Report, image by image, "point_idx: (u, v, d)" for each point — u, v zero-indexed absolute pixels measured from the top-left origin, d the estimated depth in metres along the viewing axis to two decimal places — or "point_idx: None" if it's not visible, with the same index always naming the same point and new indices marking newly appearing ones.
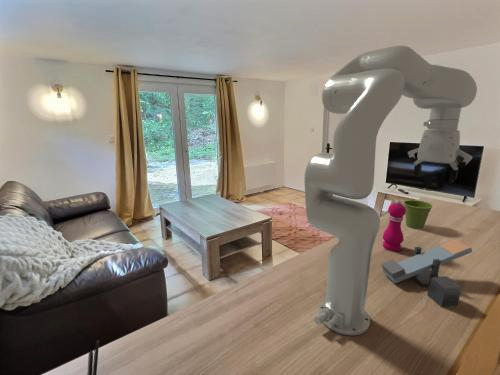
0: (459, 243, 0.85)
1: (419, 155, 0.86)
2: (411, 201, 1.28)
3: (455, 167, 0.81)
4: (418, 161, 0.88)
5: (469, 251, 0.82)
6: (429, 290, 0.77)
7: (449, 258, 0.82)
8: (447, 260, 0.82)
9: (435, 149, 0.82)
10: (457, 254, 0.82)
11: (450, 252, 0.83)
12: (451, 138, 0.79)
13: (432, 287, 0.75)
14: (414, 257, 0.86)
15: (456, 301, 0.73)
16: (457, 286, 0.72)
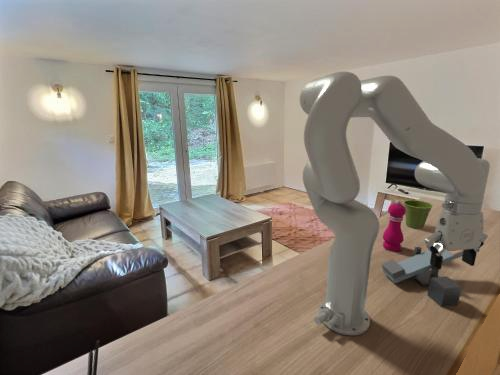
0: None
1: (449, 245, 0.68)
2: (411, 201, 1.28)
3: (477, 249, 0.71)
4: (442, 251, 0.69)
5: None
6: (429, 290, 0.77)
7: (449, 258, 0.82)
8: (447, 260, 0.82)
9: (466, 235, 0.67)
10: (457, 254, 0.82)
11: (450, 252, 0.83)
12: (481, 221, 0.67)
13: (432, 287, 0.75)
14: (414, 257, 0.86)
15: (456, 301, 0.73)
16: (457, 286, 0.72)
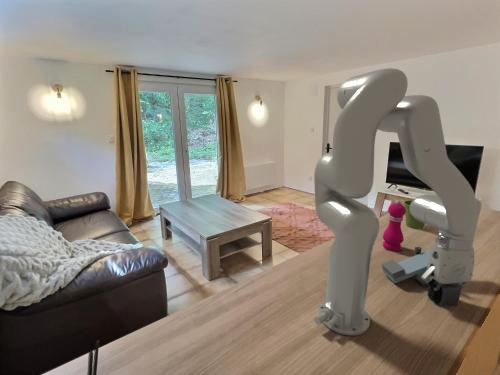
0: None
1: (441, 279, 0.70)
2: (411, 201, 1.28)
3: None
4: (439, 285, 0.72)
5: None
6: None
7: None
8: None
9: (457, 270, 0.70)
10: None
11: None
12: (472, 257, 0.69)
13: None
14: (414, 257, 0.86)
15: (457, 301, 0.73)
16: (457, 286, 0.72)
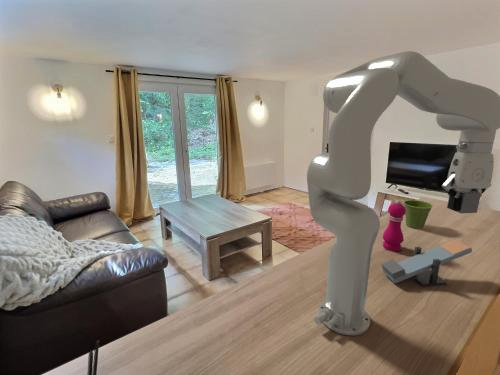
0: (459, 243, 0.85)
1: (462, 183, 0.74)
2: (411, 201, 1.28)
3: None
4: (459, 192, 0.76)
5: (469, 251, 0.82)
6: None
7: (449, 258, 0.82)
8: (447, 260, 0.82)
9: (477, 174, 0.74)
10: (457, 254, 0.82)
11: (450, 252, 0.83)
12: (491, 162, 0.73)
13: None
14: (414, 257, 0.86)
15: (476, 208, 0.77)
16: (477, 192, 0.76)
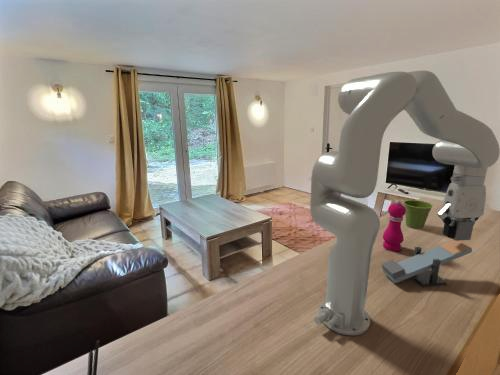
0: (459, 243, 0.85)
1: (456, 213, 0.78)
2: (411, 201, 1.28)
3: None
4: (454, 221, 0.80)
5: (469, 251, 0.82)
6: None
7: (449, 258, 0.82)
8: (447, 260, 0.82)
9: (471, 205, 0.78)
10: (457, 254, 0.82)
11: (450, 252, 0.83)
12: (483, 193, 0.78)
13: None
14: (414, 257, 0.86)
15: (469, 236, 0.81)
16: (470, 221, 0.80)
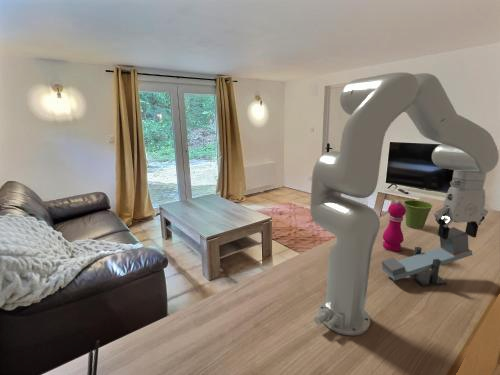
0: None
1: (455, 217, 0.79)
2: (411, 201, 1.28)
3: (478, 222, 0.82)
4: (449, 222, 0.80)
5: (469, 254, 0.82)
6: (441, 243, 0.86)
7: (449, 259, 0.82)
8: (447, 261, 0.82)
9: (470, 209, 0.78)
10: (458, 256, 0.82)
11: (450, 253, 0.83)
12: (483, 197, 0.78)
13: (442, 239, 0.85)
14: (414, 256, 0.86)
15: (467, 247, 0.82)
16: (463, 234, 0.81)
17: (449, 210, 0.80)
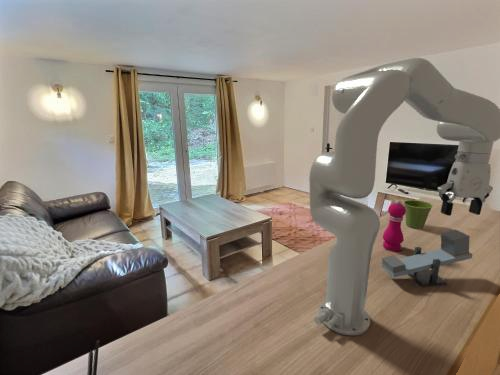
0: None
1: (460, 192, 0.76)
2: (411, 201, 1.28)
3: (483, 199, 0.80)
4: (453, 198, 0.78)
5: (469, 257, 0.82)
6: (442, 244, 0.86)
7: (449, 260, 0.82)
8: (447, 262, 0.82)
9: (475, 184, 0.76)
10: (458, 257, 0.82)
11: (450, 255, 0.83)
12: (488, 172, 0.76)
13: (444, 241, 0.85)
14: (414, 256, 0.86)
15: (467, 250, 0.82)
16: (465, 236, 0.81)
17: (453, 185, 0.78)
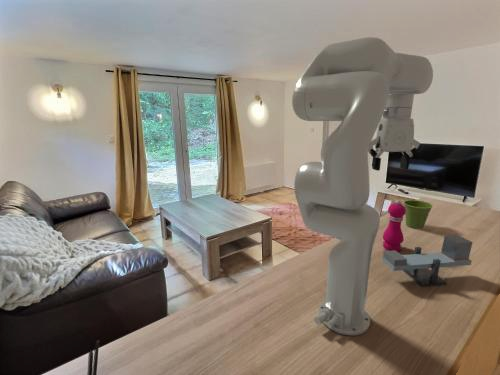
0: None
1: (385, 146, 0.80)
2: (411, 201, 1.28)
3: (410, 154, 0.83)
4: (380, 153, 0.82)
5: (468, 263, 0.83)
6: (443, 247, 0.86)
7: (449, 263, 0.82)
8: (447, 265, 0.82)
9: (399, 138, 0.80)
10: (457, 262, 0.82)
11: (450, 259, 0.84)
12: (411, 126, 0.79)
13: (446, 244, 0.85)
14: (415, 255, 0.86)
15: (468, 256, 0.83)
16: (468, 241, 0.82)
17: (380, 140, 0.81)
